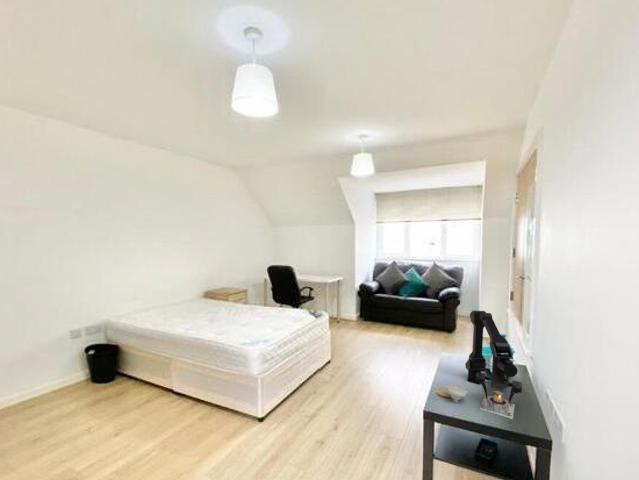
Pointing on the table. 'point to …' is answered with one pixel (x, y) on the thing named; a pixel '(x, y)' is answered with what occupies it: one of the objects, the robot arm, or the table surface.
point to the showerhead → (456, 391)
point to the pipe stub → (497, 397)
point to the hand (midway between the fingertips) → (497, 399)
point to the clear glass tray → (498, 407)
